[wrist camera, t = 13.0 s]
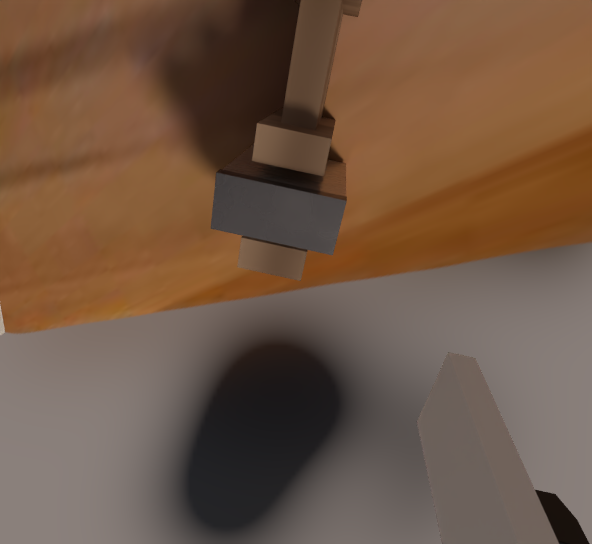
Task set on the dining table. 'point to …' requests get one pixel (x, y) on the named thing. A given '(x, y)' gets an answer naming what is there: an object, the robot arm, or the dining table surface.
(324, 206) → the bracket plate
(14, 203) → the dining table surface
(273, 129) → the brown long notched block
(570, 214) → the dining table surface
